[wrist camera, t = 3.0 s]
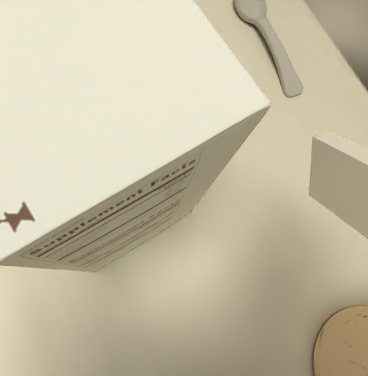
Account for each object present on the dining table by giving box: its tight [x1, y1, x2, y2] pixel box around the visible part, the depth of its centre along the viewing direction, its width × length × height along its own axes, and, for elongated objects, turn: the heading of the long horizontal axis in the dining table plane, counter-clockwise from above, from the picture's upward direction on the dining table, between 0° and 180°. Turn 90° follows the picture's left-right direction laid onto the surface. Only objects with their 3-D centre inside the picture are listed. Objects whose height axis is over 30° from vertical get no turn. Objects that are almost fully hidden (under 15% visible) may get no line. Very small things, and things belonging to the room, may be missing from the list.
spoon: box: [234, 0, 303, 98], centre depth 31 cm, size 3×12×2 cm, turn 24°
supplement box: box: [0, 0, 271, 272], centre depth 18 cm, size 10×9×17 cm
